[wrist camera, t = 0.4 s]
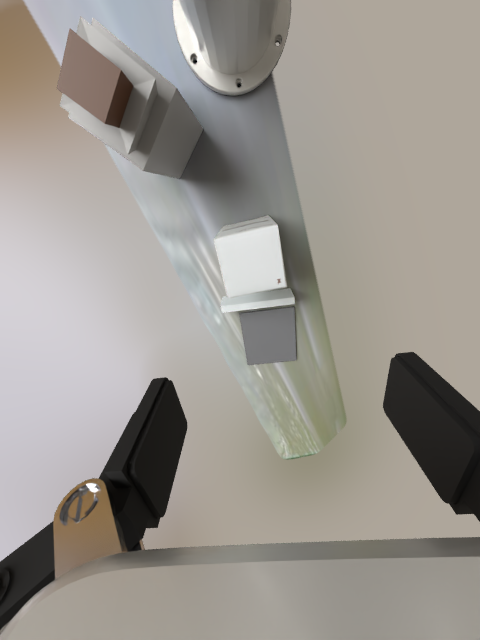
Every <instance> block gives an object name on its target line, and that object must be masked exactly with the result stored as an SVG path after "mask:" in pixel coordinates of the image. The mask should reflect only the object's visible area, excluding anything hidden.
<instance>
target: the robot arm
mask: <svg viewBox="0 0 480 640" xmlns="http://www.w3.org/2000/svg"><path fill="white" fill-rule="evenodd" d="M290 15H291V0H173V18H174V26H175V31H176V35H177V38H178V42H179V45H180V48H181V50H182V53H183V55H184V57H185V59H186V61H187V63H188V65H189V67H190V68H191V70H192V71H193V72H194V74H195V75H196V77H197V78H198V79H199V80H200V81H201V82H202V83H203V84H204V85H206V86H207V87H209V88H210V89H212V90H213V91H215V92H218V93H221V94H224V95H232V96H234V95H241V94H245V93H247V92H249V91H252V90H253V89H255V88H256V87H258V86H259V85H261V84H262V83H263V82H264V81H265V80H266V79H267V77H268V76H269V75H270V74H271V72H272V71H273V69H274V68H275V66H276V65H277V63H278V60H279V58H280V56H281V54H282V52H283V48H284V45H285V42H286V39H287V34H288V29H289V24H290ZM276 42H279V44H280V45H279V46H276V45H275V43H276ZM194 60H197V63H196V64H194ZM239 83H240V84H241V87H240V88H238V87H237V85H238V84H239ZM383 408H384V411H385V413H386V415H387V417H388V418H389V419H390V421H391V423H392V424H393V426H394V427H395V429H396V430H397V432H398V433H399V435H400V436H401V438H402V440H403V441H404V442H405V444H406V446H407V447H408V449H409V450H410V452H411V453H412V455H413V456H414V458H415V459H416V461H417V462H418V464H419V465H420V467H421V468H422V470H423V472H424V473H425V475H426V476H427V478H428V479H429V481H430V482H431V484H432V485H433V487H434V488H435V490H436V492H437V493H438V495H439V496H440V498H441V499H442V500H443V501H444V502H445V503H449V504H450V506H451V507H452V508H453V510H454V512H455V513H456V514H474V515H475V516H476V517H477V519H478V520H479V521H480V411H479V410H477V409H476V408H475V407H474V406H473V405H472V404H471V403H470V402H469V401H468V400H466V399H465V398H464V397H463V396H462V395H461V394H460V393H459V392H458V391H456V390H455V389H454V388H453V387H452V386H451V385H450V384H449V383H448V382H447V381H445V380H444V379H443V378H442V377H441V376H440V375H439V374H438V373H437V372H435V371H434V370H433V369H432V368H431V367H430V366H429V365H428V364H427V363H426V362H424V361H423V360H422V359H421V358H420V357H419V356H418V355H417V354H415V353H414V352H408V353H398V354H396V355H395V357H394V358H392V359H391V363H390V369H389V374H388V379H387V385H386V391H385V397H384V402H383ZM186 431H187V420H186V418H185V415H184V412H183V409H182V407H181V404H180V401H179V398H178V396H177V393H176V390H175V387H174V385H173V382H172V381H171V380H170V381H169V380H168V378H157V379H153V380H152V381H151V383H150V385H149V387H148V389H147V391H146V393H145V395H144V397H143V399H142V401H141V403H140V405H139V406H138V408H137V410H136V412H135V413H134V414H133V415H132V417H131V419H130V421H129V422H128V424H127V426H126V428H125V430H124V432H123V434H122V436H121V438H120V440H119V441H118V443H117V445H116V447H115V449H114V451H113V453H112V455H111V456H110V458H109V460H108V462H107V464H106V466H105V468H104V470H103V472H102V473H101V475H100V477H99V479H97V478H92V479H89V480H86V481H84V482H82V483H80V484H78V485H77V486H76V487H75V488H73V489H72V490H71V491H70V492H69V493H68V494H67V495H66V496H65V497H64V498H63V500H62V501H61V503H60V504H59V506H58V508H57V510H56V512H55V515H54V521H53V522H52V523H50V524H49V525H48V526H46V527H45V528H44V529H42V530H41V531H40V532H39V533H37V534H36V535H35V536H34V537H32V538H31V539H29V540H28V541H27V542H25V543H24V544H23V545H22V546H20V547H19V548H18V549H16V550H15V551H14V552H13V553H11V554H10V555H9V556H7V557H6V558H5V559H3V560H2V561H1V562H0V640H480V537H472V538H470V537H469V538H423V539H390V540H359V541H330V542H303V543H276V544H251V545H228V546H203V547H184V548H167V549H152V550H145V548H144V545H143V541H142V538H143V536H144V533H145V530H146V528H158V524H159V520H160V517H163V516H164V515H165V512H166V509H167V505H168V501H169V497H170V493H171V489H172V485H173V482H174V478H175V474H176V470H177V466H178V462H179V458H180V455H181V451H182V446H183V443H184V439H185V435H186Z"/></svg>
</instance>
